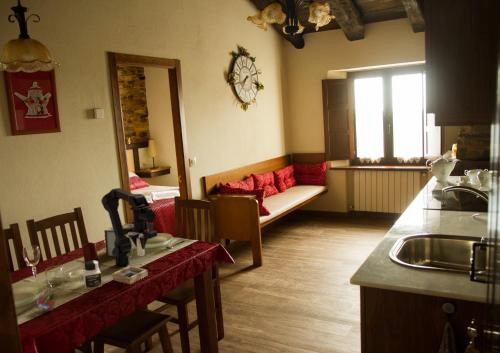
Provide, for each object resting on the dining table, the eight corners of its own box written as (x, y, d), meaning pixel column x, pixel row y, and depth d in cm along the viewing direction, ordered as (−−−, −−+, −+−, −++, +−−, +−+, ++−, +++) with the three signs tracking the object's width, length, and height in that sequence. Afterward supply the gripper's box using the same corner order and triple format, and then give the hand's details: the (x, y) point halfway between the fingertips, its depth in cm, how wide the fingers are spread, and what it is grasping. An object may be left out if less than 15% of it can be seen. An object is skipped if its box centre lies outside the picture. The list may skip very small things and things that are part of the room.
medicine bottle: (86, 289, 199) (84, 265, 197) (84, 284, 205) (82, 260, 203) (101, 286, 202) (100, 262, 200) (99, 281, 208) (97, 258, 206)
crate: (130, 284, 203) (129, 278, 203) (112, 279, 209) (112, 273, 209) (147, 276, 214) (147, 270, 213) (130, 271, 220) (130, 265, 219)
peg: (136, 256, 215) (135, 239, 213) (138, 253, 218) (137, 237, 217) (143, 256, 215) (142, 239, 214) (145, 253, 219) (144, 237, 217)
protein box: (137, 249, 254) (135, 224, 251) (119, 257, 240) (118, 231, 237) (123, 247, 258) (122, 222, 255) (105, 255, 244) (103, 229, 242)
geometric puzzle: (62, 301, 182) (49, 288, 180) (55, 309, 175) (42, 295, 174) (49, 311, 182) (37, 298, 181) (42, 319, 175) (29, 305, 174)
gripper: (163, 217, 216) (165, 246, 219) (136, 213, 225) (138, 241, 228) (148, 222, 206) (150, 253, 209) (121, 218, 215) (123, 247, 218)
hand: (140, 248), depth 216 cm, fingers closed on peg, 4 cm apart
